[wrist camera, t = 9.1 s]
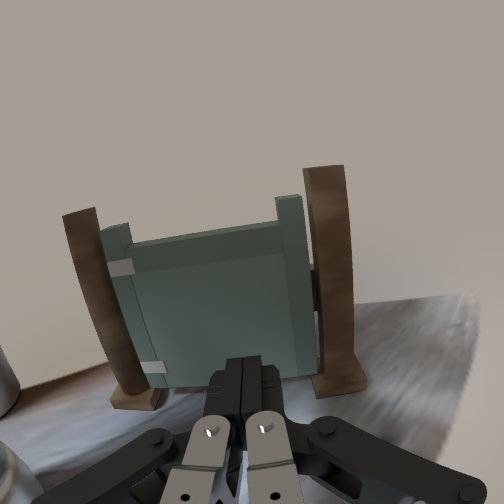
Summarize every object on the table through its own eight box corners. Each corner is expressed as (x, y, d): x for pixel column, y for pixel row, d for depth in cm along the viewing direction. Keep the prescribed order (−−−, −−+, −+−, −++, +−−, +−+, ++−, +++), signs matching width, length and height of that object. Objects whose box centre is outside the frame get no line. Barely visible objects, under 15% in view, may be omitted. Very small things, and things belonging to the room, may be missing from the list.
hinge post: (114, 408, 20) (43, 221, 16) (128, 382, 23) (72, 212, 19) (154, 410, 19) (85, 210, 15) (165, 381, 23) (112, 202, 19)
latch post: (306, 400, 19) (281, 172, 15) (299, 365, 23) (276, 171, 19) (365, 389, 19) (361, 163, 15) (350, 356, 23) (340, 164, 19)
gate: (151, 388, 20) (98, 231, 17) (156, 375, 22) (110, 225, 18) (317, 373, 19) (302, 196, 16) (313, 360, 21) (297, 194, 18)
